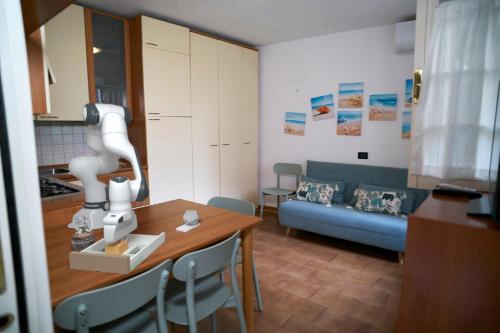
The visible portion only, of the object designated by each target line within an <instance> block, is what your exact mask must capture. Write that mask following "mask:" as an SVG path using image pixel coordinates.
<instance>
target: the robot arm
mask: <svg viewBox="0 0 500 333" xmlns="http://www.w3.org/2000/svg"><path fill="white" fill-rule="evenodd" d="M81 116H82V120H83V122H84V123H85V124H86V125H88V127H87V135H86V141H85V142H86V146H87V148H89V149H90V150H92V151H93V152H95V153H94V154H89V155H88V154H87V155H79V156H76V157H73V158H71V159H70V160H69V163H68V166H67V168H68V171H69V173H70V174H71V175H72V176H74V177H75V178H77V179H78V180H79V182H80V183H81V184H82V186H83V191H84V197H85V200H84V201H82V202H81V204H80V205H81V206H82V205H83V206H82V208H80V209H79V210H78V211H77V212H76V213H74V214H73V216H72V221H71V222H70V223H69V224H68V225H67V228H70V229H75V230H76V228H78V227H83V226H89V227H90V229H91V230H92V231H93V230H98V229H99V230H100V229H103V238H104V240H105V242H106V243H115V242H116V241H125V240H127V237H128V234H131V232H133V231H135V230H136V229H137V227H138V219H137V214H136V213H135V210H134V209H133V205H132V203H133V202H135V203H137V202H144V201H145V200H146V199H147V198H148V197H149V196H150V187H149V185H148V184H149V183H148V182H147V178H146V177H145V174H144V169H143V165H142V162H141V158H140V154H139V151H138V150H137V148H136V146H134V145H132V143H131V142H130V139H129V136H128V134H129V133H128V127H129V125H130V124H131V122H132V112H131V110H130V108H129V107H126V106H123V105H121V106H120V105H117V104H111V103H108V104H107V103H94V102H89V103H86V104H84V106H83V108H82V111H81ZM119 158H122V159H124V160H127V161H128V162H129V163H130V164H131V167H132V170H133V174H134V177H135V179H133V180H130V179H129V177H127V176H124V175H115V176H112V177H111V178H110V179H109V183H108V184H106V183H105V182H102V181H101V180H98V178H97V176H100V175H101V176H102V175H107V174H113V173H114V172H117V170H118V169H119V167H120V161H119Z"/></svg>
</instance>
